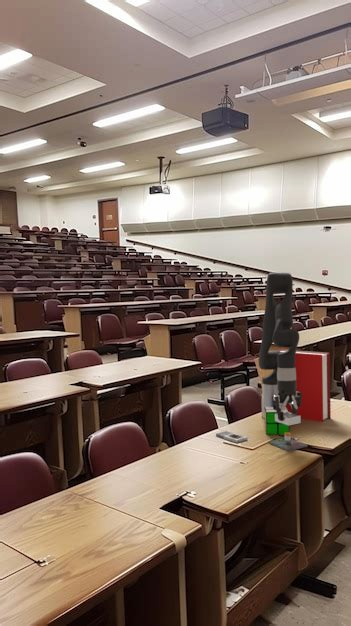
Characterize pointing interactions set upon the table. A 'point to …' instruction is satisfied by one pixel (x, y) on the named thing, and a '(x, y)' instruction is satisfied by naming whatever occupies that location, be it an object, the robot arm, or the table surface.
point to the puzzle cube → (274, 422)
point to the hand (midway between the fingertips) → (287, 419)
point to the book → (312, 384)
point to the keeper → (287, 443)
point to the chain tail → (229, 436)
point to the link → (289, 418)
